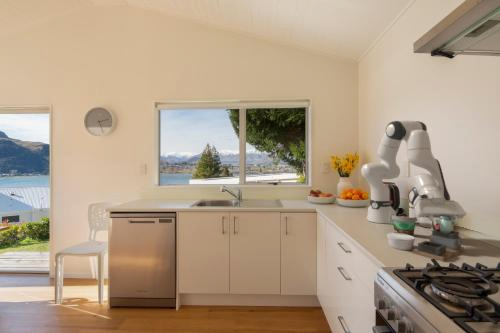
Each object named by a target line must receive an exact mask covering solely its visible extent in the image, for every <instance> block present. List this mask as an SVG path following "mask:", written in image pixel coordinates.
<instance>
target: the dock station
mask: <svg viewBox="0 0 500 333" xmlns="http://www.w3.org/2000/svg"><path fill="white" fill-rule="evenodd" d="M431 232H432V233H431V234H429V241H428V240H423V241H421V242H418V243H417V247H416V248H414V249H413V248H412V254H415V255H418V256H421V257H425V258H429V259H433V260H436V261H440V262H444V261H447V260H448V259H450V258H452V257H454V256H456V255H458V254H460V253H461V252H464V251H465V249H464V246H462V236H460V235H459V234H460V232H459V231H454V230H453V231H451V234H448V233H443V232H440V229H436V230H433V231H431Z"/></svg>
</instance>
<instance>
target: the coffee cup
mask: <svg viewBox="0 0 500 333" xmlns="http://www.w3.org/2000/svg"><path fill="white" fill-rule="evenodd" d="M434 219H435V220H438V222H439V225H434V224H433V222H432V221H431V227H432V229H431V230H432V231H433V230H436V229H440V218H434ZM453 221H454V220H452V218H451V231H454V227H455V226H453V224H452V222H453ZM432 231H431V232H432Z"/></svg>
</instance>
